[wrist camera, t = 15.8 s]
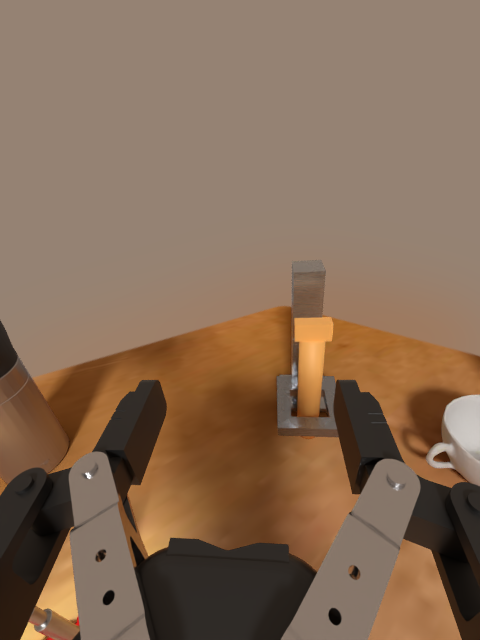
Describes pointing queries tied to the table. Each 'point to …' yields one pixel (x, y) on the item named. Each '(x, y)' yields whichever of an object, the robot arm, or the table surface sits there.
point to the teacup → (460, 438)
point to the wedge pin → (311, 362)
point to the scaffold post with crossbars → (304, 305)
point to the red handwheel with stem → (53, 624)
